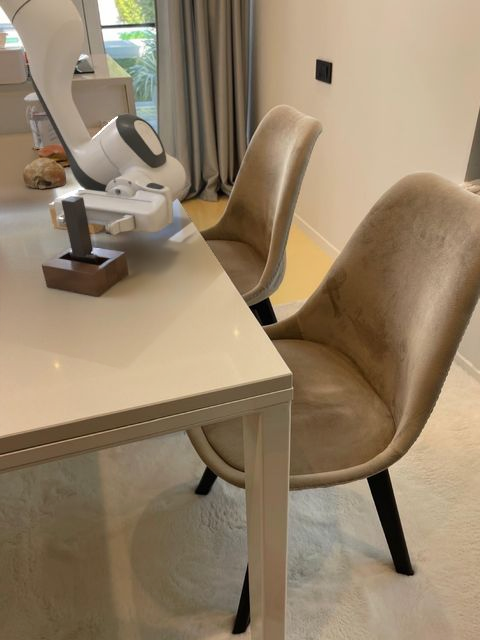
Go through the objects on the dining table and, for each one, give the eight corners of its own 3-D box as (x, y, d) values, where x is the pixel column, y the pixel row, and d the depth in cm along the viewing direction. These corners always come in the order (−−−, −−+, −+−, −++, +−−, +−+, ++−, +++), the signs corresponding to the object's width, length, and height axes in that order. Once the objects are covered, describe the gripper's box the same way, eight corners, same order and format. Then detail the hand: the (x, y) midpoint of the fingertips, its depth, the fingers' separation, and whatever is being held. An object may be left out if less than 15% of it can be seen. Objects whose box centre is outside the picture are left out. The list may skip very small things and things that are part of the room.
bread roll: (29, 204, 137) (23, 178, 131) (22, 176, 142) (16, 149, 135) (71, 198, 141) (67, 173, 134) (62, 171, 145) (58, 145, 139)
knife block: (46, 287, 92) (41, 264, 90) (80, 265, 99) (75, 244, 97) (97, 296, 89) (93, 274, 87) (128, 273, 96) (125, 252, 94)
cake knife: (71, 280, 94) (53, 199, 86) (80, 275, 96) (63, 194, 88) (96, 285, 92) (80, 202, 85) (105, 279, 94) (90, 198, 87)
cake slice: (53, 227, 114) (48, 204, 112) (62, 222, 117) (57, 199, 114) (94, 234, 111) (90, 209, 109) (103, 228, 114) (99, 204, 111)
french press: (71, 143, 174) (54, 52, 160) (51, 152, 165) (31, 57, 151) (43, 141, 176) (23, 52, 162) (22, 151, 167) (-1, 56, 153)
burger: (68, 157, 160) (64, 140, 158) (82, 164, 154) (79, 146, 152) (34, 163, 155) (30, 146, 152) (48, 171, 149) (44, 153, 146)
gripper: (79, 176, 103) (27, 200, 92) (178, 188, 96) (135, 215, 86) (85, 210, 106) (36, 236, 95) (181, 223, 100) (140, 253, 89)
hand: (84, 226), depth 91 cm, fingers open, 8 cm apart
